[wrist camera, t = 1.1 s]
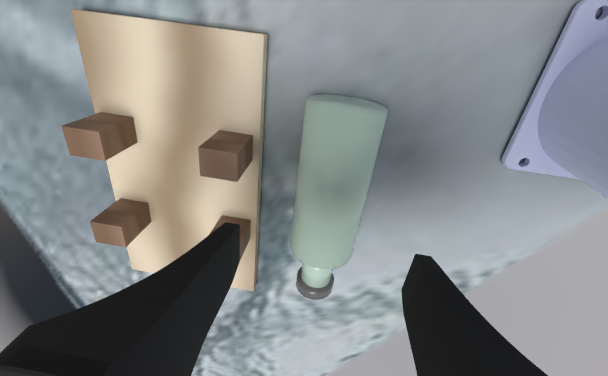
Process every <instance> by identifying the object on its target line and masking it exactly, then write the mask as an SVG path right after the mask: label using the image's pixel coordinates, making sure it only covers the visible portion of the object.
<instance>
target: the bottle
mask: <svg viewBox="0 0 608 376" xmlns="http://www.w3.org/2000/svg"><path fill="white" fill-rule="evenodd" d="M387 114H388V110H387V109H386V108H385V107H384V106H382V105H380V104H378V103H375V102H372V101H369V100H365V99H361V98H356V97H349V96H342V95H333V94H320V95H313V96H309V97H307V99H306V105H305V114H304V123H303V132H302V140H301V149H300V158H299V167H298V176H297V185H296V194H295V202H294V211H293V220H292V229H291V238H290V248H291V251H292V253H293V254H294V256H295V257H296V258H297V259H298V260H300V261H301V262H303V265H302V267H301V268H300V269H299V271H298V274H297V281H296V286H297V289H298V291H299V292H300V293H301V294H302V295H303V296H305V297H307V298H309V299H314V300H318V299H323V298H325V297H327V296H328V295H329V294H330V293H331V291H332V286H333V282H334V276H333V274H332V269H334V268H338V267H341V266H343V265H345V264H346V263H347V262H348V261H349V260H350V259H351V257H352V253H353V249H354V245H355V241H356V237H357V233H358V229H359V225H360V221H361V217H362V213H363V209H364V205H365V201H366V197H367V193H368V189H369V185H370V181H371V177H372V174H373V170H374V166H375V162H376V158H377V154H378V150H379V146H380V142H381V138H382V134H383V130H384V126H385V122H386V118H387Z"/></svg>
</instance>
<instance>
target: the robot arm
mask: <svg viewBox="0 0 608 376" xmlns="http://www.w3.org/2000/svg"><path fill="white" fill-rule="evenodd" d="M600 7H602V8H603V13H602V15H601V16H600V17H599V18H598V19H596V17H595V14H596V11H597V10H598V9H599V8H600ZM523 158H526V160H525V162H524V163H522V164H519V161H520V160H521V159H523ZM502 164H503V165H504V166H505V167H506V168H509V169H513V170H520V171H527V172H533V173H540V174H547V175H553V176H560V177H566V178H573V179H580V180H581V181H583V182H584V183H586V184H587V185H589V186H590V187H592V188H593V189H595V190H596V191H598V192H599V193H601V194H602V195H604V196H605V197H607V198H608V0H582V1H580V2H579V3H578V4H577V5H576V6H575V7H574V9H573V10H572V13H571V15H570V17H569V19H568V21H567V23H566V25H565V27H564V29H563V31H562V33H561V36H560V38H559V40H558V42H557V44H556V46H555V48H554V50H553V52H552V54H551V56H550V59H549V61H548V63H547V65H546V67H545V69H544V71H543V73H542V75H541V77H540V79H539V82H538V84H537V86H536V88H535V90H534V92H533V94H532V96H531V98H530V100H529V102H528V105H527V107H526V109H525V111H524V113H523V115H522V117H521V119H520V121H519V123H518V125H517V128H516V130H515V132H514V134H513V136H512V138H511V140H510V142H509V144H508V146H507V148H506V151H505V153H504V155H503V157H502ZM239 262H240V224H234V223H228V222H225V223H224V224H222V225H221V226H220V227H218V228H217V229H216V230H215V231H213V232H212V233H211V234H210V235H208V236H207V237H206V238H205V239H203V240H202V241H201V242H199V243H198V244H197V245H195V246H194V247H193V248H191V249H190V250H189V251H187V252H186V253H185V254H183V255H182V256H180V257H179V258H177V259H176V260H174V261H173V262H171V263H170V264H168V265H167V266H165V267H164V268H162V269H160V270H159V271H157V272H155V273H154V274H152V275H150V276H148V277H147V278H145V279H143V280H141V281H139V282H137V283H135V284H133V285H131V286H129V287H127V288H125V289H123V290H121V291H119V292H117V293H115V294H113V295H110V296H108V297H106V298H104V299H101V300H99V301H97V302H94V303H92V304H89V305H87V306H84V307H82V308H79V309H77V310H74V311H71V312H69V313H66V314H63V315H60V316H57V317H54V318H51V319H49V320H46V321H43V322H40V323H37V324H34V325H31V326H29V327H27V328H26V329H25V330H24V331H23V332H22V333H21V334H20V335H19V336H18V337H17V338H16V339H14V341H12V342H11V343H10V344H9V345H8V346H7V347H6V348H5V349H4V350H3V351H2V352H1V353H0V376H191V374H192V371H193V368H194V366H195V363H196V360H197V358H198V355H199V353H200V350H201V347H202V345H203V342H204V340H205V338H206V336H207V333H208V331H209V329H210V327H211V325H212V323H213V321H214V319H215V317H216V315H217V313H218V311H219V309H220V307H221V305H222V303H223V301H224V299H225V297H226V295H227V293H228V291H229V289H230V287H231V285H232V282H233V279H234V277H235V274H236V271H237V268H238V265H239ZM402 302H403V311H404V317H405V322H406V327H407V331H408V335H409V340H410V344H411V349H412V353H413V357H414V362H415V366H416V370H417V376H548V375H546V374H545V373H544V372H543V371H541V370H540V369H539V368H538V367H536V365H534V364H533V363H532V362H531V361H530V360H528V359H527V358H526V357H525V356H524V355H522V354H521V353H520V352H519V351H518V350H517V349H516V348H515V347H514V346H513V345H511V344H510V343H509V342H508V341H507V340H506V339H505V338H504V337H503V336H502V335H501V334H500V333H499V332H498V331H497V330H496V329H495V328H494V327H492V326H491V325H490V323H489V322H488V321H487V320H486V319H485V318H484V317H483V316H482V315H481V314H480V313H479V312H478V311H477V310H476V309H475V308H474V307H473V305H472V304H471V303H470V302H469V301H468V300H467V299H466V297H465V296H464V295H463V294H462V293H461V292H460V291H459V289H458V288H457V287H456V286H455V285H454V283H453V282H452V281H451V280H450V279H449V277H448V276H447V275H446V274H445V273H444V271H443V270H442V269H441V268H440V266H439V265H438V264H437V263H436V262H435V261H434V259H433V258H432V257H431V256H425V255H419V254H415V256H414V259H413V262H412V264H411V267H410V269H409V272H408V274H407V277H406V280H405V282H404V285H403V287H402Z"/></svg>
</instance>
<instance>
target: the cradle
mask: <svg viewBox="0 0 608 376" xmlns="http://www.w3.org/2000/svg"><path fill="white" fill-rule="evenodd" d="M71 14H72V18H73V22H74V26H75V31H76V35H77V39H78V43H79V47H80V52H81V56H82V60H83V64H84V68H85V73H86V77H87V81H88V85H89V90H90V94H91V98H92V102H93V106H94V111H95V114H94V115H91V116H88V117H86V118H83V119H80V120H77V121H74V122H72V123H69V124H66V125H63V126H62V130H63V133H64V136H65V140H66V143H67V146H68V150H69V153H70V155H73V156H79V157H86V158H92V159H98V160H104V161H107V165H108V170H109V174H110V178H111V182H112V187H113V191H114V195H115V199H116V202H115V203H113V204H112V205H111V206H110V207H108V208H107V209H106V210H104V211H103V212H102V213H100V214H99V215H98V216H97V217H95V218H94V219H93V220H91V221H90V223H91V226H92V230H93V233H94V236H95V240H96V242H100V243H105V244H111V245H116V246H122V247H127V250H128V254H129V258H130V262H131V267H132V269H134V270H140V271H145V272H151V273H155V272H157V271H159V270H160V269H162V268H164V267H165V266H167V265H168V264H170V263H171V262H173V261H174V260H176V259H177V258H179V257H180V256H182V255H183V254H185V253H186V252H187V251H189V250H190V249H191V248H193V247H194V246H195V245H197V244H198V243H199V242H201V241H202V240H203V239H205V238H206V237H207V236H208V235H210V234H211V233H212V232H213V231H215V230H216V229H217V228H218V227H220V226H221V225H222V224H224V223H225V222H228V223H234V224H240V262H239V265H238V268H237V271H236V274H235V277H234V279H233V282H232V285H231V287H233V288H239V289H244V290H250V291H254V289H255V286H256V282H257V260H258V238H259V216H260V194H261V172H262V150H263V128H264V106H265V84H266V62H267V40H268V34H263V33H255V32H247V31H240V30H232V29H225V28H217V27H209V26H202V25H194V24H187V23H179V22H172V21H164V20H156V19H149V18H141V17H134V16H126V15H118V14H111V13H103V12H96V11H88V10H78V9H71Z"/></svg>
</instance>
